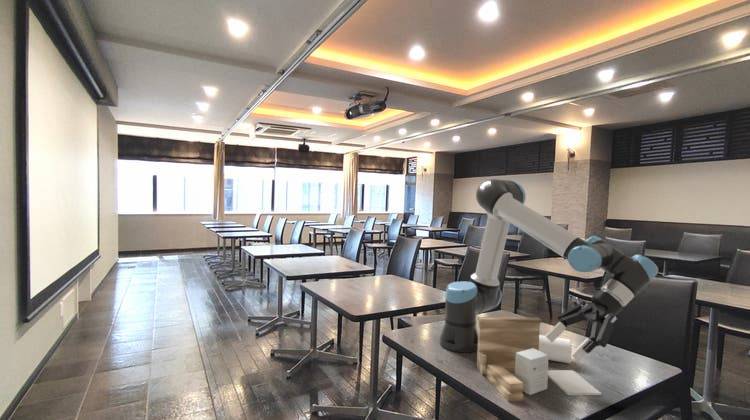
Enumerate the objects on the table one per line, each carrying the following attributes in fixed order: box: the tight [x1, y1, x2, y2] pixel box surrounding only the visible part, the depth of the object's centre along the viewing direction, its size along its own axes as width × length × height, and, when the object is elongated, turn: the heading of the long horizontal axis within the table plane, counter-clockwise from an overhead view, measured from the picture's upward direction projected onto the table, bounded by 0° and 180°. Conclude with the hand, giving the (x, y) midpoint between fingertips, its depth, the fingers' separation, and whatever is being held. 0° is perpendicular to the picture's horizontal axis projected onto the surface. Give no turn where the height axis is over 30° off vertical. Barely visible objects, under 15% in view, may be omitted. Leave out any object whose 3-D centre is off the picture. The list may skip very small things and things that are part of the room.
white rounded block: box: [539, 334, 573, 364], centre depth 130 cm, size 12×10×8 cm
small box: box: [514, 348, 549, 396], centre depth 108 cm, size 8×6×10 cm
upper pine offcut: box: [487, 364, 523, 393], centre depth 107 cm, size 12×4×2 cm, turn 14°
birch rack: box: [476, 316, 543, 376], centre depth 118 cm, size 5×21×17 cm, turn 93°
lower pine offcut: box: [486, 373, 524, 402], centre depth 108 cm, size 14×4×2 cm, turn 7°
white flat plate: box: [548, 369, 602, 396], centre depth 112 cm, size 14×10×1 cm
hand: (560, 348), depth 107 cm, fingers open, 13 cm apart
